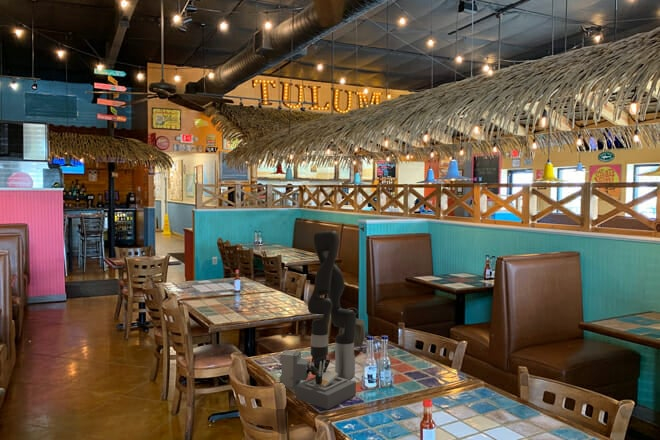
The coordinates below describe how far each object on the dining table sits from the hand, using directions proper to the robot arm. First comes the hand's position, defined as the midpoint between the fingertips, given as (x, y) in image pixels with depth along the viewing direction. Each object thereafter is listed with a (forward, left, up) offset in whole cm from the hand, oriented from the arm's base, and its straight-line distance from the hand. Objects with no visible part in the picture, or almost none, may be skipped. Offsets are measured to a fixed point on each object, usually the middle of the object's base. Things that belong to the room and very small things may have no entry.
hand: (318, 383), depth 218 cm
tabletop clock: (-68, -31, -8) cm, 75 cm away
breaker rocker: (-5, 0, +1) cm, 5 cm away
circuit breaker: (-8, -20, -8) cm, 23 cm away
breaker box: (-5, 0, -7) cm, 9 cm away
